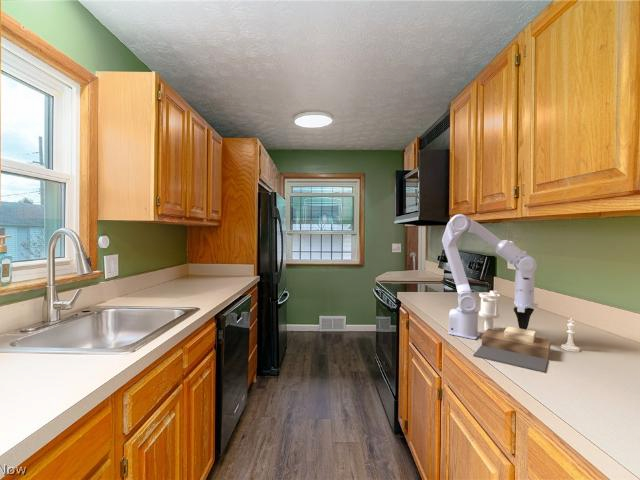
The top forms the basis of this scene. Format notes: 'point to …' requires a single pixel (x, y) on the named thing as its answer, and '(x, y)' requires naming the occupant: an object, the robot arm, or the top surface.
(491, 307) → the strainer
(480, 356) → the rubber mat
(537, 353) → the walnut deck
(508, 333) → the birch tile
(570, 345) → the chess piece
